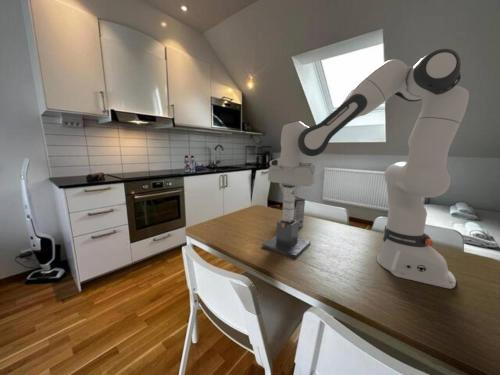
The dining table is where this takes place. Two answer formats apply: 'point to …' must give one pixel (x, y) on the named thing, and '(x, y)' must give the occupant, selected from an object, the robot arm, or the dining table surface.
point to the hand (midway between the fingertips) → (289, 194)
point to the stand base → (287, 240)
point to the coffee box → (299, 210)
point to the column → (288, 204)
